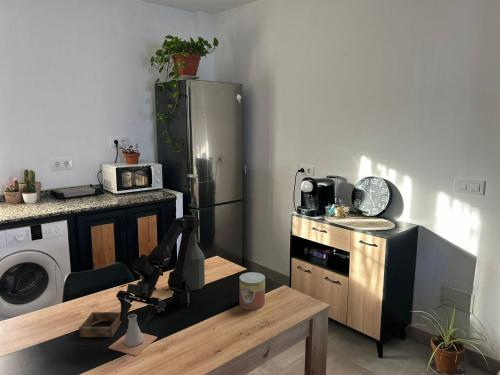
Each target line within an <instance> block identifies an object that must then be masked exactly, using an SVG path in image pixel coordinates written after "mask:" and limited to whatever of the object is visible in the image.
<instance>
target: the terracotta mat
mask: <svg viewBox="0 0 500 375" xmlns="http://www.w3.org/2000/svg"><path fill="white" fill-rule="evenodd" d="M141 333H142V335H143V337H144V340H143V343H142V344H139V345H137V346H132V347H127V346H126V345H124V344H123V343H124V340H125V336H126V333H125V334H124V335H122V336H121V337H120V338H119V339H117V340H116V341H115V342H113V343H112V344H111V345H109V346H108V347H107V348H108V349H109V350H112V351H117V352H120V353H124V354H127V355H131V356H134V357H137V356H138V355H140V354H141V353H142V352H143V351H144V350H145V349H146V348H147V347H149V346H150V345H151V344H152V343H153V342H154V341H156V340H157V339H158V336H155V335H151V334H148V333H143V332H141Z"/></svg>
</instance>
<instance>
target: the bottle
mask: <svg viewBox="0 0 500 375" xmlns="http://www.w3.org/2000/svg"><path fill="white" fill-rule="evenodd" d="M205 270H206V269H205V254H204V253H203V250H201V248H200V247H199V245H198V240H197V233H196V234H195V235H194V236H193V239H192V244H191V249H190V254H189V260H188V265H187V272H188V275H189V282H190V283H191V284H192V285H193V287H192V290H191V291H198V290H201V289H203V288H204V286H205V284H206V276H205V275H206V274H205Z"/></svg>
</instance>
